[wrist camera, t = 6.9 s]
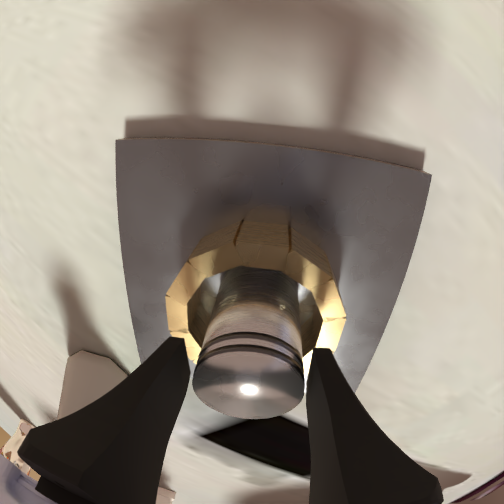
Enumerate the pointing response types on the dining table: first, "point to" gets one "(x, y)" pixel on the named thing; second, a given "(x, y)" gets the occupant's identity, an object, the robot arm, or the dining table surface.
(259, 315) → the piston
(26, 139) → the dining table surface
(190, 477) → the dining table surface
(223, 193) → the ring plate
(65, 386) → the flask
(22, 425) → the beer glass
